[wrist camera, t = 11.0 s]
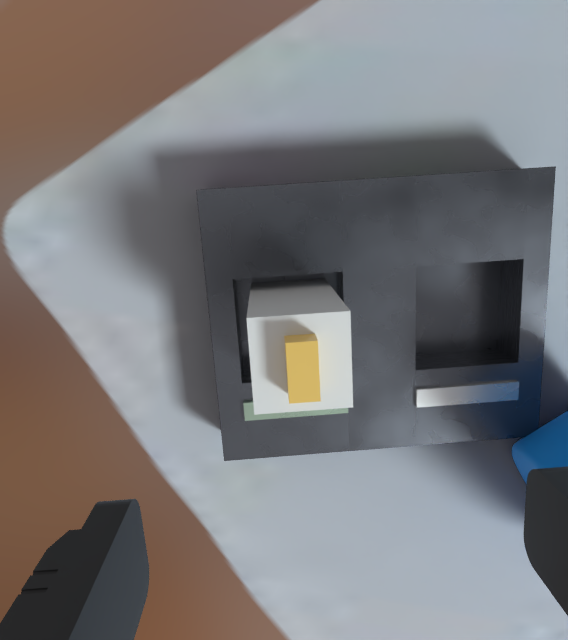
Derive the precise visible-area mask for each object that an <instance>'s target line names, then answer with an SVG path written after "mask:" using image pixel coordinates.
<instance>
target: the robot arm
mask: <svg viewBox="0 0 568 640" xmlns="http://www.w3.org/2000/svg"><path fill="white" fill-rule="evenodd" d="M524 543H525V548H526V552H527V555H528V558H529V560H530V563H531V564H532V566H533V568H534V570H535V571H536V572H537V574H538V575H539V577H540V578H541V579H542V581H543V582H544V584H545V585H546V586H547V588H548V589H549V590H550V592H551V593H552V595H553V596H554V597H555V599H556V600H557V602H558V603H559V604H560V606H561V607H562V608H563V610H564V611H565V613H566V614H567V615H568V466H567V467H554V468H541V469H532V470H531V471H530V472H529V474H528V477H527V486H526V503H525V521H524ZM148 585H149V564H148V557H147V550H146V544H145V537H144V531H143V524H142V519H141V512H140V506H139V503H138V501H137V500H136V499H128V500H115V501H103V502H97V504H96V505H95V506H94V508H93V510H92V511H91V513H90V515H89V517H88V518H87V520H86V522H85V524H84V526H83V527H82V529H80V530H69V531H68V532H67V533H66V534H64V535H63V536H62V537H61V538H60V539H59V540H57V541H56V542H55V543H54V544H53V545H52V546H50V548H48V549H47V550H46V552H45V553H44V555H43V557H42V558H41V560H40V561H39V563H38V564H37V566H36V568H35V569H34V571H33V575H32V576H30V577H29V579H28V580H27V582H26V583H25V585H24V587H23V588H22V592H21V594H20V595H18V597H17V598H16V599H15V601H14V602H13V604H12V606H11V607H10V609H9V610H8V612H7V614H6V615H5V617H4V618H3V620H2V622H1V623H0V640H134V637H135V634H136V630H137V627H138V624H139V621H140V617H141V614H142V611H143V607H144V604H145V601H146V597H147V592H148Z"/></svg>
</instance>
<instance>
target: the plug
mask: <svg viewBox="0 0 568 640" xmlns="http://www.w3.org/2000/svg"><path fill="white" fill-rule="evenodd" d="M246 319H247V331H248V344H249V356H250V368H251V381H252V393H253V405H254V415H257V414H270V413H284V412H297V411H311V410H325V409H338V408H352V407H353V383H352V347H351V312H350V310H349V308H348V307H347V306H346V305H345V303H344V302H343V301H342V300H341V298H340V297H339V296H338V295H337V293H336V292H335V291H334V289H333V288H332V287H331V286H330V284H329V283H328V282H327V281H326V279H310V280H295V281H280V282H265V283H251V288H250V296H249V303H248V310H247V318H246Z"/></svg>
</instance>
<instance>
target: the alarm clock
mask: <svg viewBox="0 0 568 640" xmlns="http://www.w3.org/2000/svg"><path fill="white" fill-rule="evenodd" d="M512 456H513V460H514V462H515V464H516V466H517V468H518V470H519V472H520V474H521V476H522V478H523V479H524V481H525V483H526V485H527V477H528V474H529V472H530V471H531V470H532V469H541V468H554V467H567V466H568V411H566V412H565V413H563V414H562V415H560V416H558V417H557V418H555V419H553V420H552V421H550V422H548V423H547V424H545V425H543V426H542V427H540V428H538V429H537V430H536V431H534V432H532V433H531V434H529V435H527V436H526V437H524V438H522V439H520V440H519V441H517V442H516V443H515V444H514V445H513V447H512Z"/></svg>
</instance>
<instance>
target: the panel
mask: <svg viewBox="0 0 568 640" xmlns="http://www.w3.org/2000/svg"><path fill="white" fill-rule="evenodd" d="M555 168H556V167H541V168H526V169H510V170H495V171H480V172H464V173H449V174H434V175H418V176H403V177H387V178H372V179H357V180H341V181H326V182H311V183H295V184H280V185H264V186H249V187H234V188H218V189H203V190H196V191H197V201H198V211H199V220H200V230H201V240H202V250H203V259H204V269H205V279H206V288H207V298H208V308H209V317H210V327H211V337H212V347H213V356H214V366H215V376H216V385H217V395H218V405H219V414H220V424H221V434H222V444H223V453H224V461H229V460H242V459H254V458H267V457H279V456H292V455H305V454H317V453H330V452H343V451H355V450H368V449H380V448H393V447H406V446H418V445H431V444H444V443H456V442H469V441H481V440H494V439H507V438H519V437H526V436H527V435H529V434H531V433H532V432H534V431H536V430H537V429H538V427H539V412H540V397H541V382H542V366H543V351H544V336H545V321H546V305H547V290H548V275H549V260H550V244H551V229H552V214H553V199H554V183H555ZM310 279H326V281H327V282H328V283H329V284H330V286H331V287H332V288H333V289H334V291H335V292H336V293H337V295H338V296H339V297H340V298H341V300H342V301H343V302H344V303H345V305H346V306H347V307H348V308H349V310H350V312H351V347H352V383H353V407H352V408H338V409H325V410H311V411H297V412H284V413H270V414H257V415H254V405H253V393H252V381H251V368H250V356H249V344H248V331H247V319H246V318H247V310H248V303H249V296H250V288H251V283H265V282H280V281H295V280H310Z"/></svg>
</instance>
